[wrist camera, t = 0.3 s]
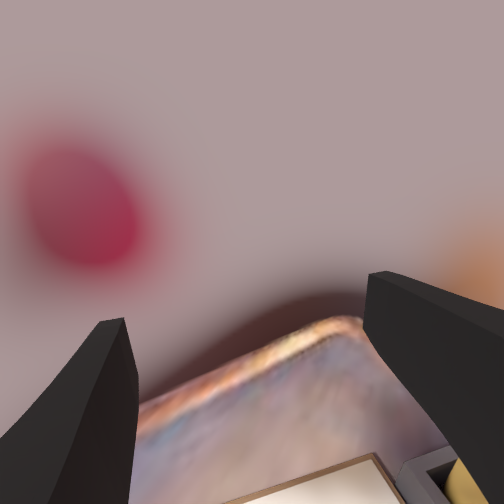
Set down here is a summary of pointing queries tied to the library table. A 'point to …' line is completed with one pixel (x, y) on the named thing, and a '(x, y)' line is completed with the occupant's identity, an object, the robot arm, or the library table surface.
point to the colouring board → (333, 486)
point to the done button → (462, 487)
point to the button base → (426, 477)
